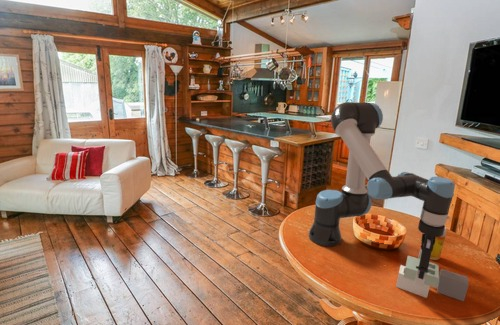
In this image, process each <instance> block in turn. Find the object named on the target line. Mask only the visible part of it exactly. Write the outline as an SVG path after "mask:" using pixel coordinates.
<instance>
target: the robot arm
mask: <svg viewBox="0 0 500 325" xmlns="http://www.w3.org/2000/svg"><path fill="white" fill-rule="evenodd" d="M383 116H384V115H383V111H382V108H380V105H378V104H376V103H374V102H366V101H365V102H356V101H354V102H352V101H351V102H350V101H346V102H342V103H340V104H338V105H337V106H336V107H334V109H333V111H332V113H331V117H330V123H331V128H332V130H333V131H334V133H335V135H336V136H339V137H340V138H341V139H342V141H343V142H344V144H345V146H346V147H347V149H348V159H347V166H346V167H347V169H346V177H345V185H343V186H342V187H341V191H339V190H336V189H324V190H321V191H320V192H319V193H317V195H316V199H315V206H314V207H315V209H314V218H313V223H312V225H311V227H310V229H309V232H308V238H309V240H310V241H312V242H313V243H314V244H316V245H319V246H322V247H335V246H338V245H339V244H341V242H342V234H341V230H340V220H341V219H346V218H351V217H356V218H357V217H361V216H365V215H366V214H368V213H369V212H370V210H371V209H372V204H373V203H372V202H373V201H372V199H374V200H388V199H394V198H406V197H414V198H416V199H418V200H420V201H423V203H422V208H421V211H420V216H419V217H420V218H419V222H418V226H417V230H418V231H419V232H420V233H422V234H421V243H420V244H421V245H420V249H419V253H418V257H417V258H418V259H420V263H419V266H416V268H417V273H416V278H415V282H414V284H416V285H418V286H421V287H423V286H424V282H425V278H426V273H427V272H428V266H429V262H431V261H430V260H431V259H430V256H431V252H432V251H433V246H434V244H435V237H441V236H442V235H443V233H444V229H445V227H446V225H447V220H450V216H449V213H450V207H451V205H452V200H453V198H454V195H455V193H454V192H455V188H456V187H455V186H456V183H455V182H454V181H453V180H451V179H449V178H446V177H441V176H430V178H428V179H427V178H424V177H422V176H419V175H417V174H415V173H411V172H408V171H403V172H401V173H398V175H397V176H396V175H395V176H392V174H391V173H390V171H388V169H387V167H386V166H385V165H384V163H383V162H382V160H381V159H380V157H379V156H378V154H377V153H376V151H375V150H374V148H373V147H372V145H371V138H372V137H373V136H374V135H375V133H376V129H379V128H380V126H381V125H382V123H383V120H384V117H383ZM366 179H367V180H368V181H367V184H366Z"/></svg>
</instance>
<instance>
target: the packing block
mask: <svg viewBox="0 0 500 325" xmlns="http://www.w3.org/2000/svg"><path fill="white" fill-rule="evenodd" d="M468 287H469V278H468V276H467V275H462V274H460V273H456V272H454V271H450V270H446V269H443V268H441V269H440V270H439V279H438V283H437V287H436V290H437V291H436V293H437V294H441V295H443V296H447V297H450V298H452V299H456V300H458V301H461V302H465V298H466V294H467V292H468Z"/></svg>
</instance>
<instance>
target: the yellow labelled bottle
mask: <svg viewBox="0 0 500 325" xmlns="http://www.w3.org/2000/svg"><path fill="white" fill-rule="evenodd" d="M446 234H447V228H446V226H445V229H444V233H443V235H442V236H441V237H435V244H434V246H433V251H432V252H431V256H430V260H432V261H438V260H440V258H441V255H442V250H443V248H444V247H443V246H444V242H445V238H446Z"/></svg>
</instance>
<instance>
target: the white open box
mask: <svg viewBox="0 0 500 325" xmlns="http://www.w3.org/2000/svg"><path fill="white" fill-rule="evenodd" d="M405 267H406V265H402V264H400V266H399V271H398V275H397V280H396V285H395V287H396V288H398V289H401V290H403V291H406V292H408V293H411V294H413V295H414V294H415V295H417V296H420V297H422V298H425V299H427V298H428V295H429V292H430V288H431V286H429V285H426V284H424V286H423V287H421V286H418V285H416V284H414V282H415V281H414V280H411V279H408V278H405V277H404V272H405ZM429 267H430V268H432V267H431V266H429ZM428 273H430V274H432V273H431V272H428Z"/></svg>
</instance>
